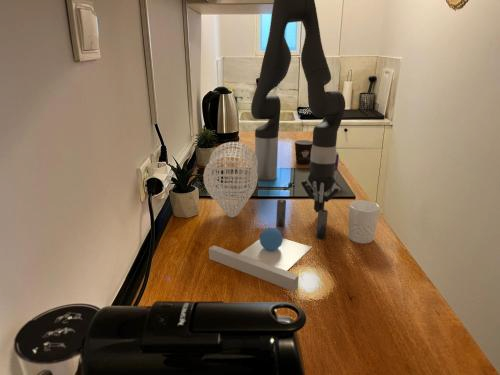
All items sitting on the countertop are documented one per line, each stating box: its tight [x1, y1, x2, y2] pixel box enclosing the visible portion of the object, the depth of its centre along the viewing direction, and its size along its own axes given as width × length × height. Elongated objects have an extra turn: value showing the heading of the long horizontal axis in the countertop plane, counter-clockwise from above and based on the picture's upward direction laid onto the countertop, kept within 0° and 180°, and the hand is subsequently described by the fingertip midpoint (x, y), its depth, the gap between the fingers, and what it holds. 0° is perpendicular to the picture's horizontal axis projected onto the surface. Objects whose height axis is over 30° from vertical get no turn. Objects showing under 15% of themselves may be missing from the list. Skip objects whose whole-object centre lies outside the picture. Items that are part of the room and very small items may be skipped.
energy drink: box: [334, 151, 340, 184], centre depth 150 cm, size 5×5×12 cm
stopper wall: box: [208, 245, 300, 292], centre depth 90 cm, size 24×2×3 cm, turn 56°
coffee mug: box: [294, 139, 313, 166], centre depth 174 cm, size 12×9×10 cm
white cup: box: [347, 199, 381, 245], centre depth 105 cm, size 8×8×10 cm
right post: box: [315, 209, 329, 240], centre depth 106 cm, size 3×3×8 cm
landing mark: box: [239, 237, 313, 272], centre depth 100 cm, size 14×14×1 cm
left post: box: [275, 198, 287, 229], centre depth 113 cm, size 3×3×8 cm
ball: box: [259, 227, 283, 251], centre depth 100 cm, size 6×6×6 cm
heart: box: [202, 141, 258, 218], centre depth 116 cm, size 28×16×22 cm, turn 179°
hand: (318, 211), depth 120 cm, fingers closed
